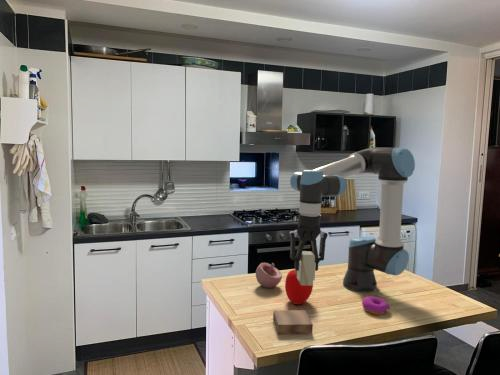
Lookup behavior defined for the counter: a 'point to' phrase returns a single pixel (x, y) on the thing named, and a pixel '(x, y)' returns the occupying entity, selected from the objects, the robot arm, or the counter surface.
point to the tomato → (296, 289)
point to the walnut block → (292, 322)
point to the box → (307, 268)
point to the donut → (375, 305)
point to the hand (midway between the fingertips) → (305, 279)
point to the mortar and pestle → (268, 275)
